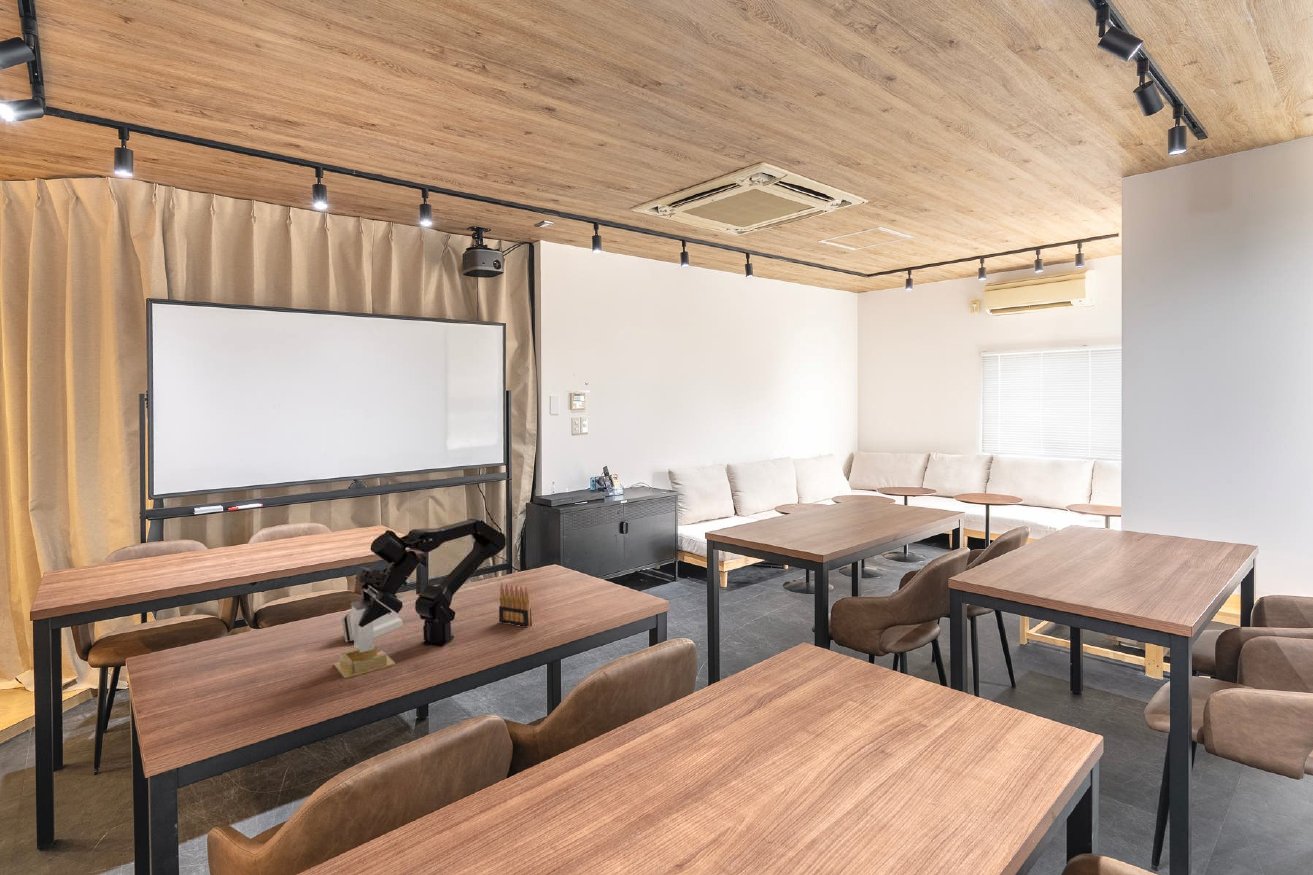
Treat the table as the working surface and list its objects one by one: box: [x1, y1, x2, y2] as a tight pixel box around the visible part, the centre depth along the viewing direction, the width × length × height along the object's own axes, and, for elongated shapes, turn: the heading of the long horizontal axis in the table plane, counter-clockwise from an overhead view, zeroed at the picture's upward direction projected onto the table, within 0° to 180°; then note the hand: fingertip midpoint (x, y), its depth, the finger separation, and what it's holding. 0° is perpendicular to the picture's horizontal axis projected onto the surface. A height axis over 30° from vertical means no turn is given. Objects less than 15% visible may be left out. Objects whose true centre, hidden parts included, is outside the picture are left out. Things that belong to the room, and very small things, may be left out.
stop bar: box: [350, 599, 375, 653], centre depth 164 cm, size 4×5×12 cm
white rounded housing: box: [341, 609, 405, 643], centre depth 187 cm, size 17×5×10 cm, turn 153°
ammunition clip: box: [498, 582, 533, 627], centre depth 191 cm, size 11×2×12 cm, turn 65°
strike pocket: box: [333, 644, 396, 679], centre depth 164 cm, size 12×11×3 cm
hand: (357, 623), depth 163 cm, fingers closed on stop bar, 5 cm apart
